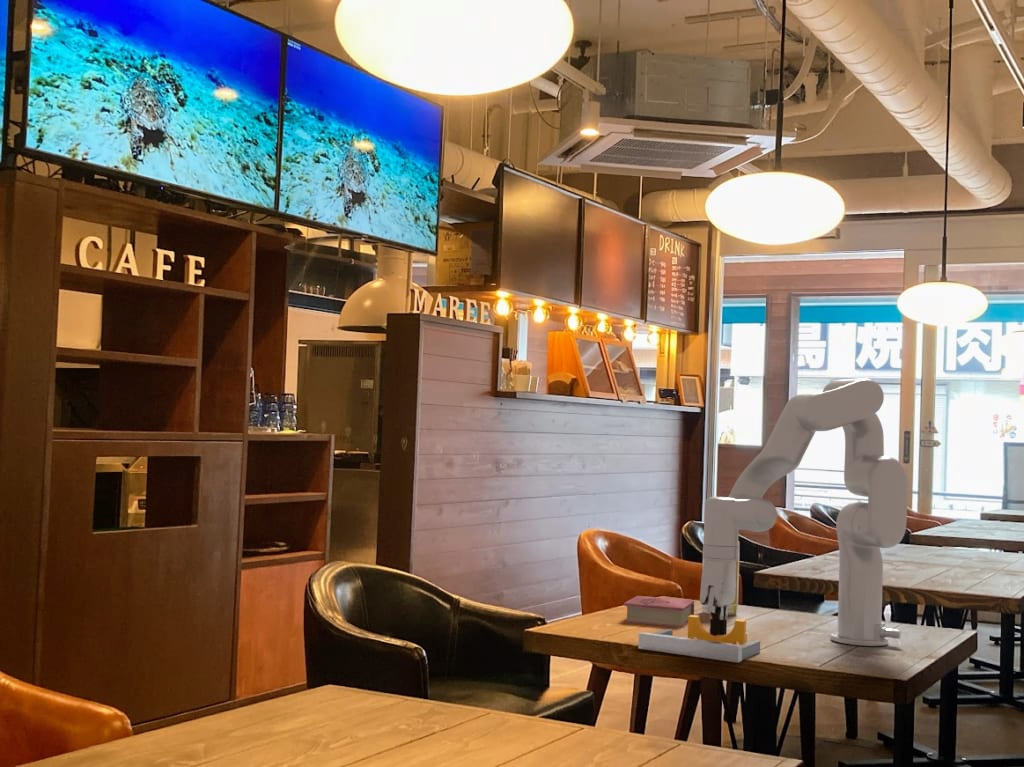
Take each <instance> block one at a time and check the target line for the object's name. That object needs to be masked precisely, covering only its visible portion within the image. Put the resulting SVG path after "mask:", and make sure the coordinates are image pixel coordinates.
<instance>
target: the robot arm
mask: <svg viewBox="0 0 1024 767" xmlns="http://www.w3.org/2000/svg"><path fill="white" fill-rule="evenodd" d="M884 398H885V397H884V391H883V388H882V387H881V385H880V384H879V383H878V382H877V381H875V380H873V379H870V378H864V377H863V378H861V377H860V378H846V379H844V378H843V379H836V380H833V381H830V382H828V383H827V384H826V385H825V386H824V387H823V390H822V392H815V393H801V394H796V395H794V396H793V397H791V398H790V399H789V400H788V401H787V402H786V404H785V406H784V408H783V410H782V412H781V414H780V415H779V417H778V420H777V422H776V424H775V426H774V428H773V430H772V432H771V433H770V436H769V438H768V440H767V441H766V444H765V446H764V447H763V449H762V450H761V452H760V453H758V455H756V456H755V457H754V459H753V460H752V461H751V462H750V463H749V464H748V465H747V466H746V468H745V469H744V470H743V471H742V472H741V474H740V475H739V476H738V477H737V479H736V481H735V483H734V484H733V487H732V489H731V491H730V493H729V495H728V497H727V496H726V497H725V496H710V497H707V498H706V500H705V502H704V515H703V516H704V519H703V520H704V521H703V522H704V524H703V544H704V548H703V547H702V560H703V559H704V564H703V563H702V568H703V570H702V573H701V578H700V579H701V580H700V594H699V603H700V604H701V606H702V605H707V604H708V608H707V611H708V612H710V614H709V618H710V619H709V620H710V622H709V623H710V624H709V626H710V627H709V634H711V635H714V636H716V635H726V634H727V627H728V626H727V624H728V622H727V621H728V617H729V616H728V609H729V608H730V604H731V603H733V602H734V601H735V594H736V570H735V561H738V541H739V530H744V531H750V532H756V533H761V532H765V531H768V530H770V529H772V528H773V527H774V526H775V525H776V523H777V520H778V512H777V508H776V507H775V506H774V504H773V503H772V502H771V501H770V500H767V499H765V498H763V496H764V495H765V493H766V492H767V490H768V489H769V488H770V487H771V486H772V485H773V484H774V483H775V482H776V481H778V480H780V479H781V478H784V477H785V476H787V475H788V474H790V473H792V472H793V471H794V470H796V469H797V468H798V467H799V465H800V464H801V462H802V460H803V457H804V456H805V454H806V451H807V449H808V448H809V446H810V443H811V441H812V440H813V438H814V436H815V434H816V432H828V431H832V430H836V429H838V428H841V427H842V429H843V432H844V443H845V444H844V445H845V446H844V466H843V467H844V470H843V479H844V480H843V481H844V485H845V488H846V489H847V490H848V492H850V493H852V494H853V495H855V496H857V497H858V496H860V497H866V498H868V499H867V502H863V501H861V502H860V501H856V502H851V503H849V504H847V505H845V506H844V507H842V509H841V510H840V511H839V512H838V514H837V517H836V522H835V524H836V526H835V529H836V535H837V541H838V551H839V552H838V553H839V560H838V561H839V566H838V567H839V570H838V598H837V599H838V601H837V602H838V604H837V605H838V606H837V608H838V609H837V611H838V612H837V632H836V631H835V632H832V633H831V634H830V640H831V641H832V642H833V641H834V642H836V643H841V644H844V645H852V646H863V647H880V646H881V647H883V646H887V645H888V644H889V639H888V638H891V639H898V640H901V636H902V631H901V630H899V629H894V628H887V627H886V622H883V621H882V620H883V619H882V616H883V615H882V614H883V609H882V608H883V575H884V563H883V562H884V561H883V557H882V553H881V551H882V550H881V549H890V548H891V549H892V548H894V547H895V546H897V545H898V544H900V543H901V541H902V540H903V538H904V536H905V534H906V528H907V523H908V522H907V521H908V520H907V518H908V496H909V495H908V492H909V480H908V475H907V473H906V472H907V471H906V470H905V468H904V466H903V465H902V463H901V462H900V461H899V460H898V459H896V458H895V457H892V456H888V455H885V450H884V449H885V445H884V443H885V442H884V436H885V435H884V429H883V425H882V422H881V421H880V418H879V416H878V415H877V412H878V411H880V409H881V407H882V405H883V403H884V400H885V399H884ZM880 548H881V549H880Z"/></svg>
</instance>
